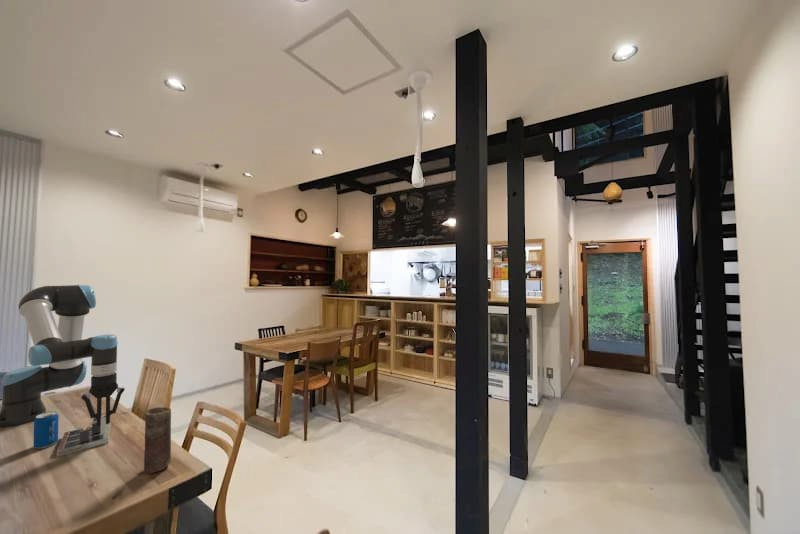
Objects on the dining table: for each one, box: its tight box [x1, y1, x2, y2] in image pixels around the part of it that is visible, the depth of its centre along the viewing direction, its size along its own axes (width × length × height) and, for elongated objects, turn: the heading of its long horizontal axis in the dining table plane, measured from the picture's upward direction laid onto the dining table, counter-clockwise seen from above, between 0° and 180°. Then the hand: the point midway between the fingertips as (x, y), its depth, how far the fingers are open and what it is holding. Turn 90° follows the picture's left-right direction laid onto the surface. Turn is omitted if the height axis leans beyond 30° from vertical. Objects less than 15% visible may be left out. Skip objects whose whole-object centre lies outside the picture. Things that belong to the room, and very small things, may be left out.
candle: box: [143, 406, 172, 475], centre depth 110 cm, size 8×7×20 cm
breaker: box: [91, 420, 101, 434], centre depth 130 cm, size 4×2×4 cm, turn 40°
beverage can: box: [33, 410, 60, 449], centre depth 124 cm, size 6×6×12 cm
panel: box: [56, 421, 112, 457], centre depth 128 cm, size 18×14×2 cm
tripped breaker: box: [80, 426, 91, 442], centre depth 123 cm, size 4×2×4 cm, turn 40°
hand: (103, 432), depth 127 cm, fingers closed
